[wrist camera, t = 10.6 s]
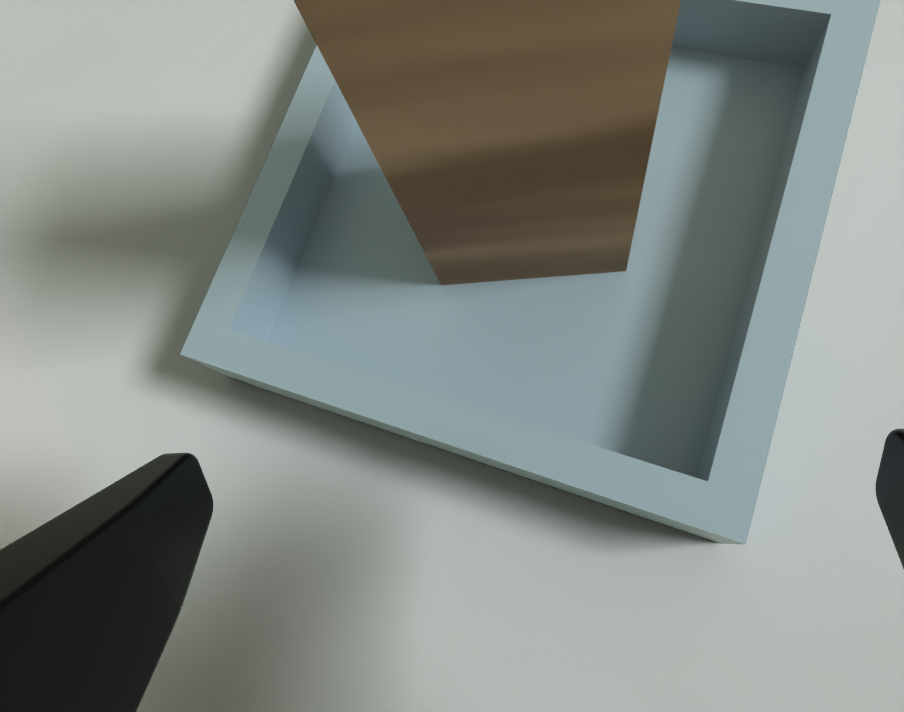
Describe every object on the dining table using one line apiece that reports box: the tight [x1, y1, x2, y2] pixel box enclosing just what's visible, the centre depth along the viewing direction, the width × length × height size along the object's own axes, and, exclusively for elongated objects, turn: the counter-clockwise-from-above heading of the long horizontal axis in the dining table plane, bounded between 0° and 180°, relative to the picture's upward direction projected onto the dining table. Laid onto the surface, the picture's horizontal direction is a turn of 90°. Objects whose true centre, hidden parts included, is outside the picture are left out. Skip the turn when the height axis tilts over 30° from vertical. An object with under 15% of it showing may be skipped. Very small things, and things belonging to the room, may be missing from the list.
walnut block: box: [294, 0, 681, 285], centre depth 12 cm, size 4×5×13 cm
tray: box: [180, 0, 880, 544], centre depth 18 cm, size 14×14×2 cm
